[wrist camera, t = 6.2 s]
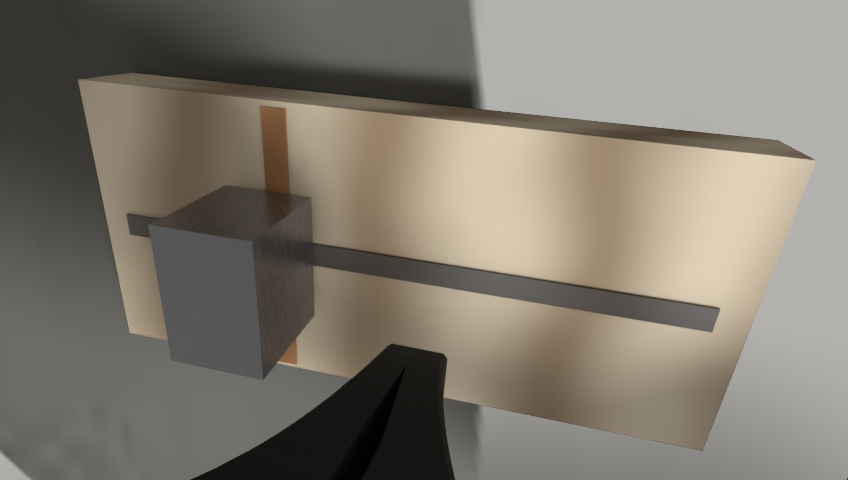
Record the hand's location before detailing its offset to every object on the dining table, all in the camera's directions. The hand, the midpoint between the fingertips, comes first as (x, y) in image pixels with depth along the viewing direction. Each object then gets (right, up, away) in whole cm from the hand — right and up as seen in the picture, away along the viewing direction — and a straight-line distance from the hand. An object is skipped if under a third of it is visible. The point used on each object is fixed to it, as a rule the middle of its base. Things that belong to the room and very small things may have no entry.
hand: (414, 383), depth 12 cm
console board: (0, +3, +7) cm, 8 cm away
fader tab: (-5, +3, +6) cm, 8 cm away
